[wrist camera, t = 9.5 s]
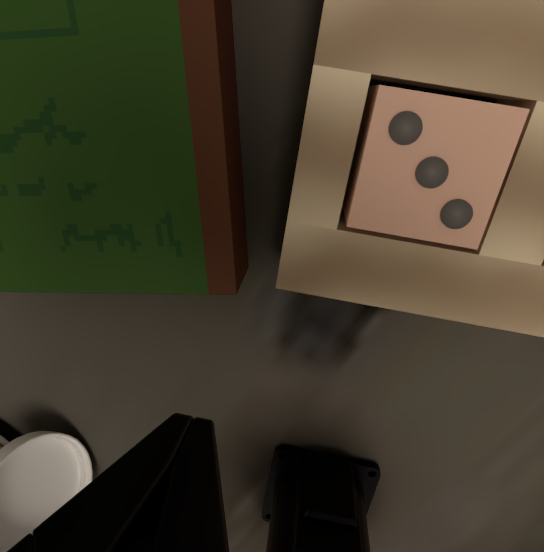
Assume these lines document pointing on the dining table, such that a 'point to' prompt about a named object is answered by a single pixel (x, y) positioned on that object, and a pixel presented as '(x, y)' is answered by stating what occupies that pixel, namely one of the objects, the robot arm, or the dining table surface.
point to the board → (342, 140)
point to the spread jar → (37, 479)
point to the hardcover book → (120, 148)
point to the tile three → (429, 165)
